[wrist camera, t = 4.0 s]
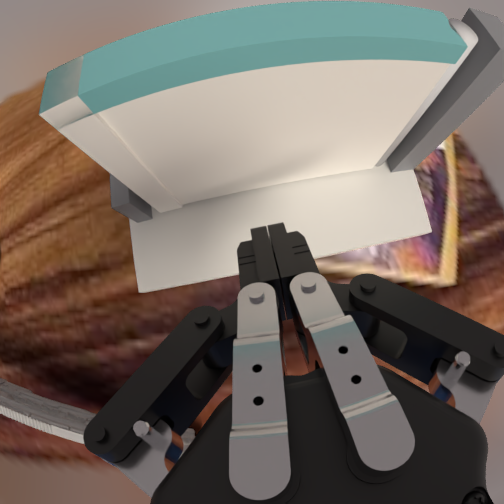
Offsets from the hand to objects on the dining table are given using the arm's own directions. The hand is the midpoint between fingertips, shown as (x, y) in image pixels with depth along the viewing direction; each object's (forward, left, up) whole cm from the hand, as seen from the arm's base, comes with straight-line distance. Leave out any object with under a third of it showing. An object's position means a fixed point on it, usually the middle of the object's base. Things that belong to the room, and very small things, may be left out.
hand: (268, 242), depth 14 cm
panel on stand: (+1, +7, -7) cm, 10 cm away
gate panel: (+2, +5, -6) cm, 8 cm away
